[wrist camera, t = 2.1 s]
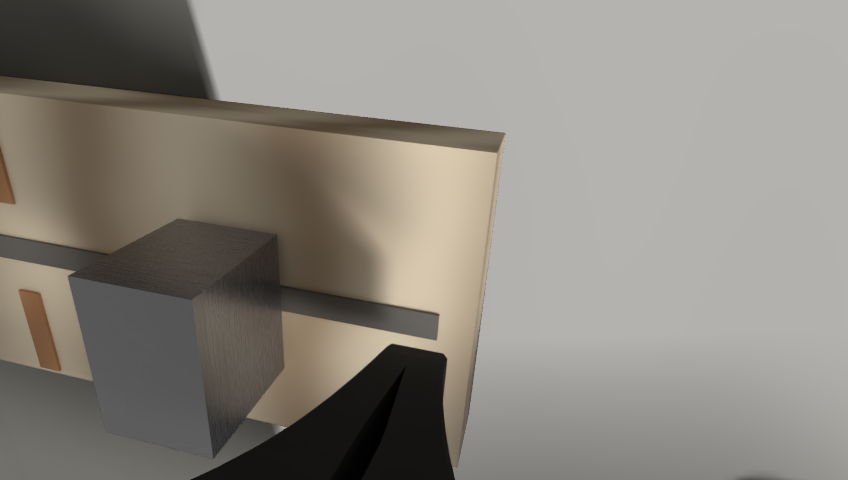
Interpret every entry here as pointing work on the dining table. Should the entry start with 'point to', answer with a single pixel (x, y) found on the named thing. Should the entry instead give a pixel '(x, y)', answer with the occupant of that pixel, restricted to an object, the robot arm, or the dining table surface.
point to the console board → (253, 224)
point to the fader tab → (182, 332)
